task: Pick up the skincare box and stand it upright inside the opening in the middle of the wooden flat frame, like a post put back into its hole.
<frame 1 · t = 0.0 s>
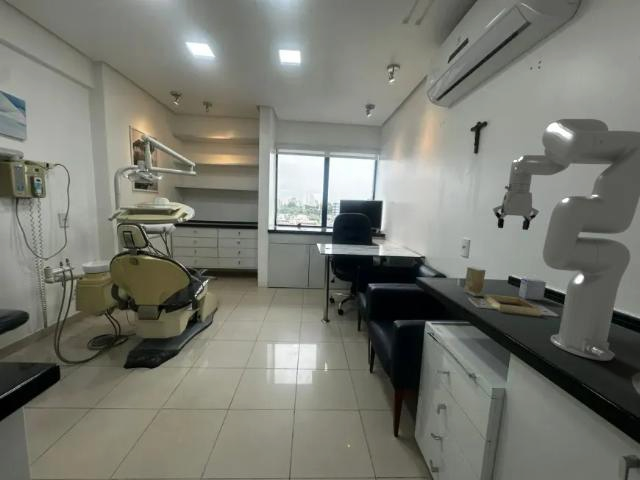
hand: (512, 228, 115), 31 cm above the counter, tool pointing down, fingers open, 9 cm apart
skincare box: (472, 294, 122), on the counter
wooden flat frame: (509, 307, 107), on the counter
medicine box: (530, 298, 122), on the counter
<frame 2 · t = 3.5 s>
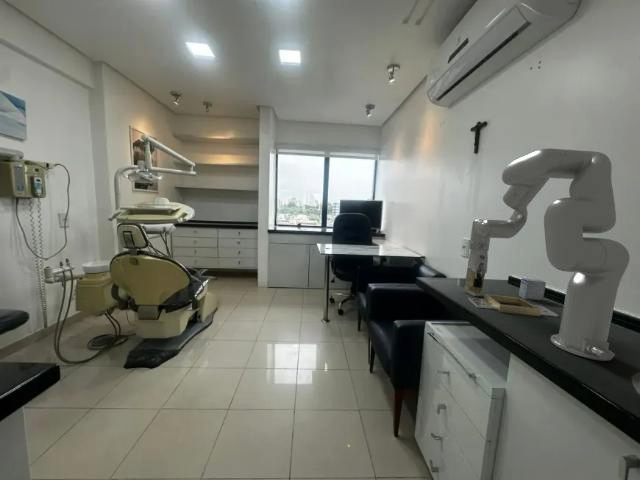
hand: (473, 284, 122), 4 cm above the counter, tool pointing down, fingers closed on skincare box, 7 cm apart
skincare box: (472, 294, 122), on the counter, touching gripper
everything else where it was.
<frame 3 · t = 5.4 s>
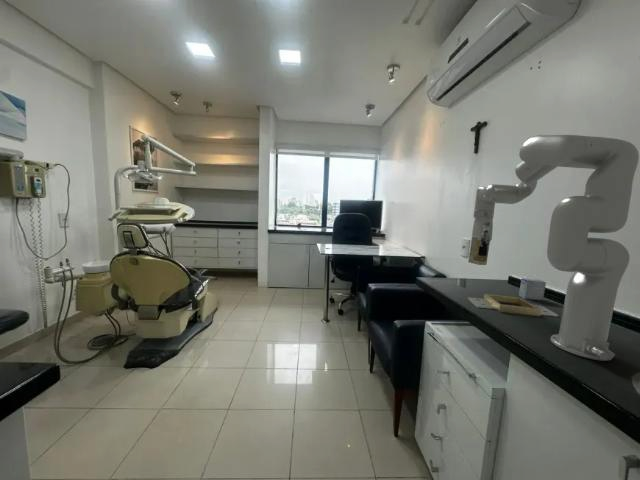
hand: (478, 254, 120), 19 cm above the counter, tool pointing down, fingers closed on skincare box, 7 cm apart
skincare box: (477, 264, 120), point 14 cm above the counter, touching gripper
everything else where it was.
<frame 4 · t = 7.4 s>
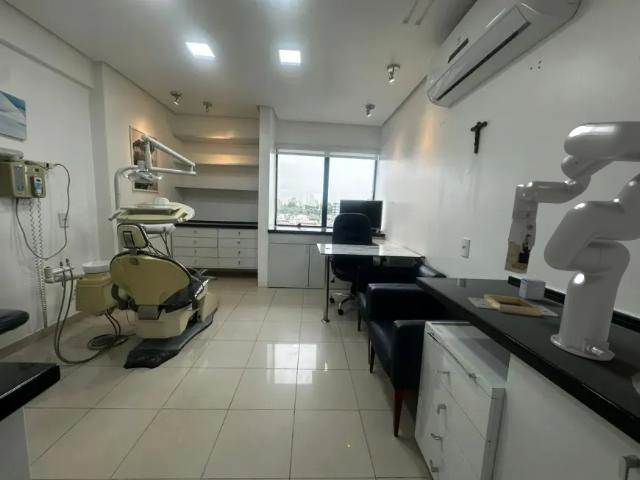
hand: (517, 261, 105), 19 cm above the counter, tool pointing down, fingers closed on skincare box, 7 cm apart
skincare box: (515, 272, 105), point 14 cm above the counter, touching gripper
everything else where it was.
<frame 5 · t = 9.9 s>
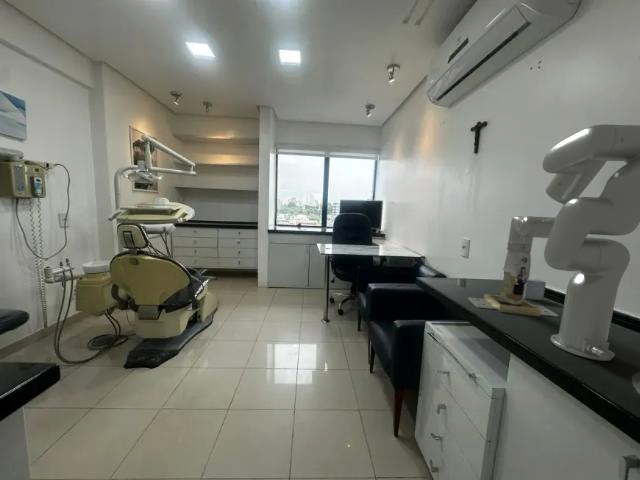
hand: (512, 291, 106), 7 cm above the counter, tool pointing down, fingers closed on skincare box, 7 cm apart
skincare box: (510, 302, 107), point 2 cm above the counter, touching gripper
everything else where it was.
when the fingers open (5 cm above the counter, at t = 11.7 s): skincare box stays where it is, resting in wooden flat frame.
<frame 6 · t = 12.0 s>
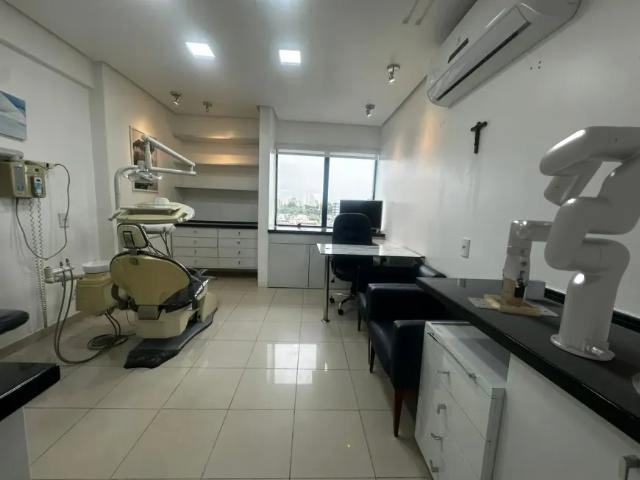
hand: (511, 293, 106), 6 cm above the counter, tool pointing down, fingers open, 9 cm apart
skincare box: (510, 308, 107), resting in wooden flat frame
everything else where it was.
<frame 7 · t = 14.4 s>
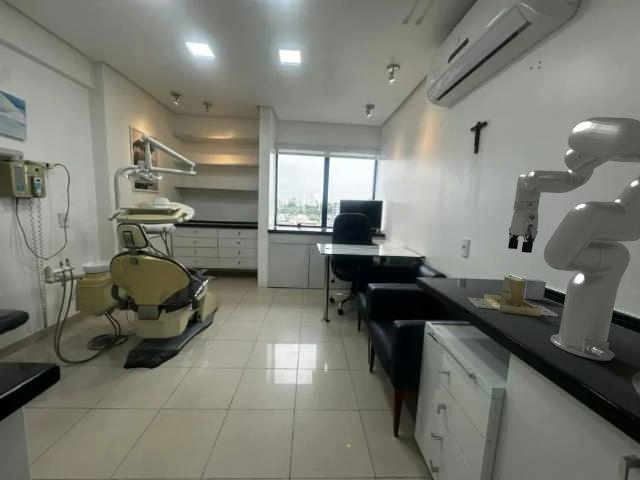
hand: (519, 250, 104), 23 cm above the counter, tool pointing down, fingers open, 9 cm apart
nothing on the counter moved.
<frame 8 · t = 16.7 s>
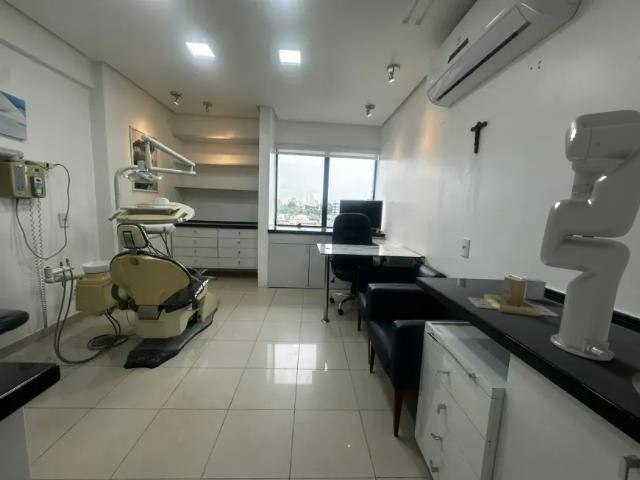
hand: (577, 236, 100), 30 cm above the counter, tool pointing down, fingers open, 9 cm apart
nothing on the counter moved.
at the end: skincare box inside the target area on the wooden flat frame (0.5 cm from its centre), point 0.0 cm above the wooden flat frame's base; skincare box tilted 0°; the gripper is holding nothing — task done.
